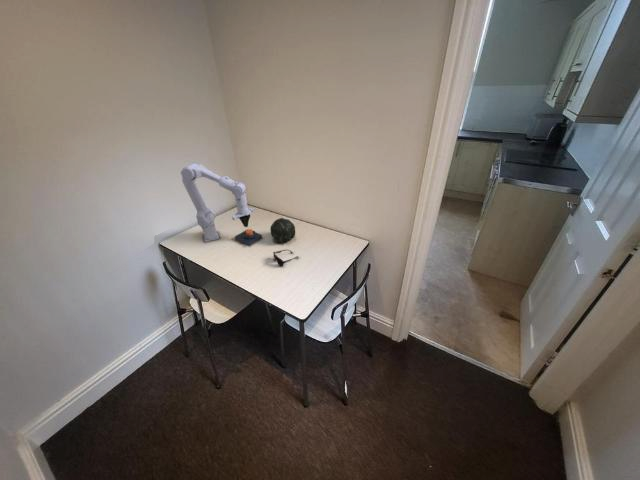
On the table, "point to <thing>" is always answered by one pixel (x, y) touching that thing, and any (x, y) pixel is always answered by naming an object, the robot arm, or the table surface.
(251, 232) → the orange button
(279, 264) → the sunglasses
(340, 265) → the table surface
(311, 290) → the table surface
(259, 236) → the dark blue button base
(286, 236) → the squash
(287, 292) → the table surface
